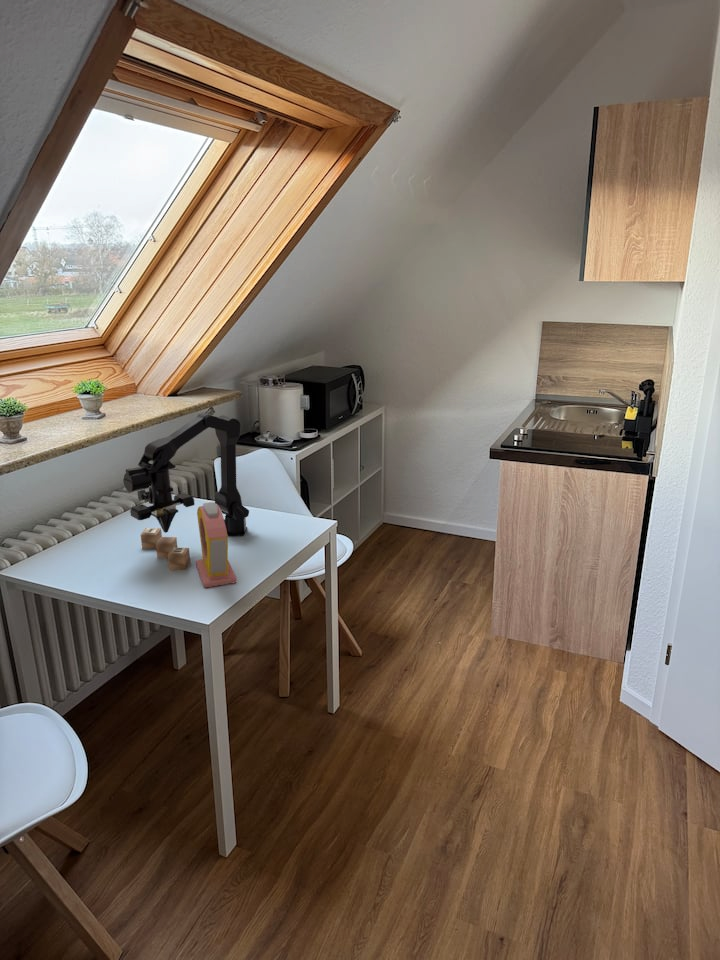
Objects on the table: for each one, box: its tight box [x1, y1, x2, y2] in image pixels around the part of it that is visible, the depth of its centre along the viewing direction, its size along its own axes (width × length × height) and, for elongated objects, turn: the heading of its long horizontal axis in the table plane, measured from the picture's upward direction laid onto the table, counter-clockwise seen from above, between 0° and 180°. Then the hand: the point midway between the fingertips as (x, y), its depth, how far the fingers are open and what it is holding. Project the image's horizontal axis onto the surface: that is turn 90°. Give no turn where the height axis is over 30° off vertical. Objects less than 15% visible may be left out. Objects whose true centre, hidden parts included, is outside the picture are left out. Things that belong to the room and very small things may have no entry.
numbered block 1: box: [140, 527, 163, 550], centre depth 222 cm, size 5×5×5 cm
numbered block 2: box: [167, 547, 191, 571], centre depth 207 cm, size 5×5×5 cm
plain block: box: [155, 536, 178, 559], centre depth 215 cm, size 5×5×5 cm
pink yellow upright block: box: [195, 501, 238, 589], centre depth 200 cm, size 22×9×22 cm, turn 21°
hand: (165, 532), depth 214 cm, fingers closed
